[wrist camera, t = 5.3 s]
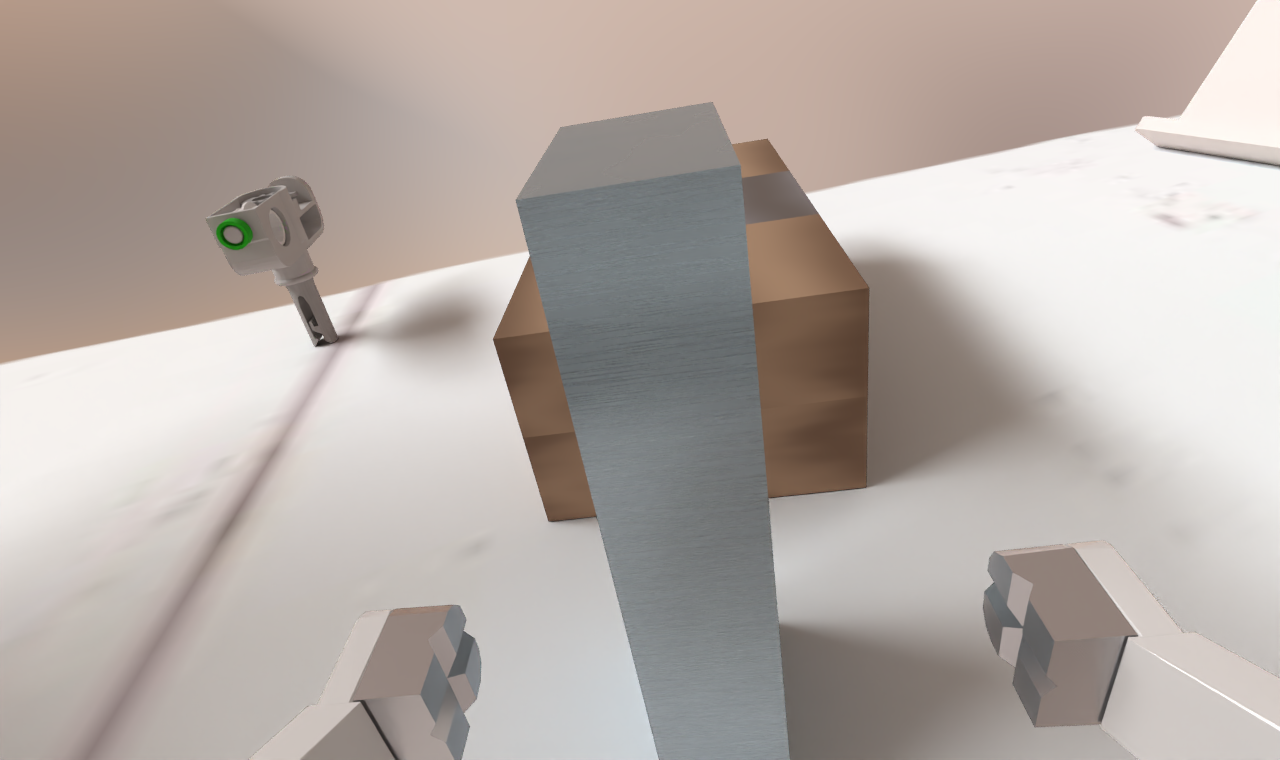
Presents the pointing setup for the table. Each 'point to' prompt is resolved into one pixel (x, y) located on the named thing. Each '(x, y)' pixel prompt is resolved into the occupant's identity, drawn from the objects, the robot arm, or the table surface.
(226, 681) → the table surface
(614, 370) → the tall rectangular metal block
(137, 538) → the table surface
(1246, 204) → the table surface
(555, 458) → the brown boxy piece
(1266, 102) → the tablet stand
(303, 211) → the mechanical component
